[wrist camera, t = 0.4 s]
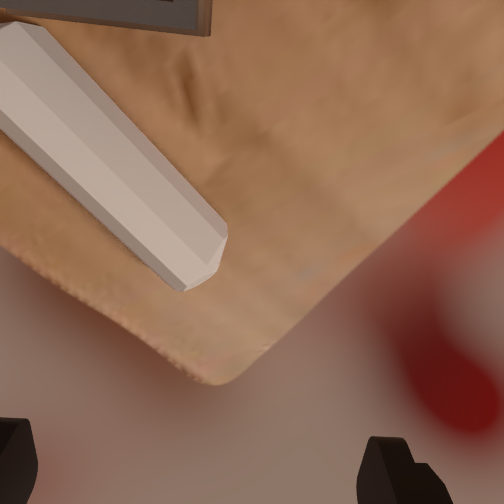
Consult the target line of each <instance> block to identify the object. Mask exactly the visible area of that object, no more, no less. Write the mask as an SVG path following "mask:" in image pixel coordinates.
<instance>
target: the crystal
mask: <svg viewBox="0 0 504 504" xmlns="http://www.w3.org/2000/svg"><path fill="white" fill-rule="evenodd" d="M0 130H1V131H2V132H4V133H5V134H6V135H7V136H8V137H9V138H10V139H11V140H12V141H13V142H14V143H15V144H17V145H18V146H19V147H20V148H21V149H22V150H23V151H24V152H25V153H26V154H27V155H28V156H29V157H31V158H32V159H33V160H34V161H35V162H36V163H37V164H38V165H39V166H40V167H41V168H42V169H43V170H45V171H46V172H47V173H48V174H49V175H50V176H51V177H52V178H53V179H54V180H55V181H56V182H57V183H59V184H60V185H61V186H62V187H63V188H64V189H65V190H66V191H67V192H68V193H69V194H70V195H72V196H73V197H74V198H75V199H76V200H77V201H78V202H79V203H80V204H81V205H82V206H83V207H84V208H86V209H87V210H88V211H89V212H90V213H91V214H92V215H93V216H94V217H95V218H96V219H97V220H98V221H100V222H101V223H102V224H103V225H104V226H105V227H106V228H107V229H108V230H109V231H110V232H111V233H112V234H114V235H115V236H116V237H117V238H118V239H119V240H120V241H121V242H122V243H123V244H124V245H125V246H126V247H128V248H129V249H130V250H131V251H132V252H133V253H134V254H135V255H136V256H137V257H138V258H139V259H141V260H142V261H143V262H144V263H145V264H146V265H147V266H148V267H149V268H150V269H151V270H152V271H153V272H155V273H156V274H157V275H158V276H159V277H160V278H161V279H162V280H163V281H164V282H165V283H166V284H168V285H169V286H170V287H172V288H173V289H174V290H177V291H181V292H183V291H186V290H188V289H191V288H193V287H196V286H198V285H200V284H201V283H203V282H204V281H206V280H207V279H209V278H210V277H211V276H212V275H213V274H215V273H216V272H217V270H218V266H219V263H220V260H221V257H222V253H223V250H224V247H225V244H226V240H227V237H228V233H227V223H226V222H225V221H224V220H223V219H222V218H221V217H220V216H219V215H218V214H217V213H216V212H215V210H214V209H213V208H212V207H211V206H210V205H209V204H208V203H207V202H206V201H205V200H204V199H203V198H202V197H201V195H200V194H199V193H198V192H197V191H196V190H195V189H194V188H193V187H192V186H191V185H190V184H189V183H188V181H187V180H186V179H185V178H184V177H183V176H182V175H181V174H180V173H179V172H178V171H177V170H176V169H175V168H174V166H173V165H172V164H171V163H170V162H169V161H168V160H167V159H166V158H165V157H164V156H163V155H162V154H161V152H160V151H159V150H158V149H157V148H156V147H155V146H154V145H153V144H152V143H151V142H150V141H149V140H148V139H147V137H146V136H145V135H144V134H143V133H142V132H141V131H140V130H139V129H138V128H137V127H136V126H135V125H134V124H133V122H132V121H131V120H130V119H129V118H128V117H127V116H126V115H125V114H124V113H123V112H122V111H121V110H120V108H119V107H118V106H117V105H116V104H115V103H114V102H113V101H112V100H111V99H110V98H109V97H108V96H107V95H106V93H105V92H104V91H103V90H102V89H101V88H100V87H99V86H98V85H97V84H96V83H95V82H94V81H93V79H92V78H91V77H90V76H89V75H88V74H87V73H86V72H85V71H84V70H83V69H82V68H81V67H80V66H79V64H78V63H77V62H76V61H75V60H74V59H73V58H72V57H71V56H70V55H69V54H68V53H67V52H66V50H65V49H64V48H63V47H62V46H61V45H60V44H59V43H58V42H57V41H56V40H55V39H54V38H53V37H52V35H51V34H50V33H49V32H48V31H47V30H46V29H45V28H44V27H41V26H36V25H32V24H27V23H22V22H18V21H15V22H7V23H0Z"/></svg>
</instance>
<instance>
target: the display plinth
mask: <svg viewBox="0 0 504 504" xmlns="http://www.w3.org/2000/svg"><path fill="white" fill-rule="evenodd" d="M0 7H1V8H6V14H11V15H19V16H28V17H37V18H45V19H54V20H63V21H71V22H80V23H89V24H97V25H106V26H115V27H123V28H132V29H141V30H149V31H158V32H167V33H176V34H184V35H193V36H202V37H204V36H211V17H212V0H0Z"/></svg>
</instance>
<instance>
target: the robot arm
mask: <svg viewBox="0 0 504 504" xmlns="http://www.w3.org/2000/svg"><path fill="white" fill-rule="evenodd" d="M37 471H38V460H37V455H36V450H35V445H34V440H33V435H32V430H31V425H30V422H29V420H28V419H24V418H2V417H0V504H27V501H28V499H29V497H30V495H31V493H32V490H33V488H34V485H35V481H36V477H37ZM356 488H357V500H358V504H453V502H452V500H451V497H450V495H449V493H448V491H447V489H446V486H445V484H444V483H443V482H442V481H441V479H440V478H439V477H438V476H437V475H436V474H435V472H434V471H433V470H432V469H431V467H430V466H429V465H428V464H427V463H415V462H414V459H413V457H412V455H411V452H410V449H409V447H408V445H407V443H406V441H405V440H404V439H403V438H398V437H378V436H377V437H376V436H372V437H370V439H369V440H368V443H367V446H366V450H365V453H364V456H363V460H362V463H361V466H360V469H359V473H358V476H357V486H356Z"/></svg>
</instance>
